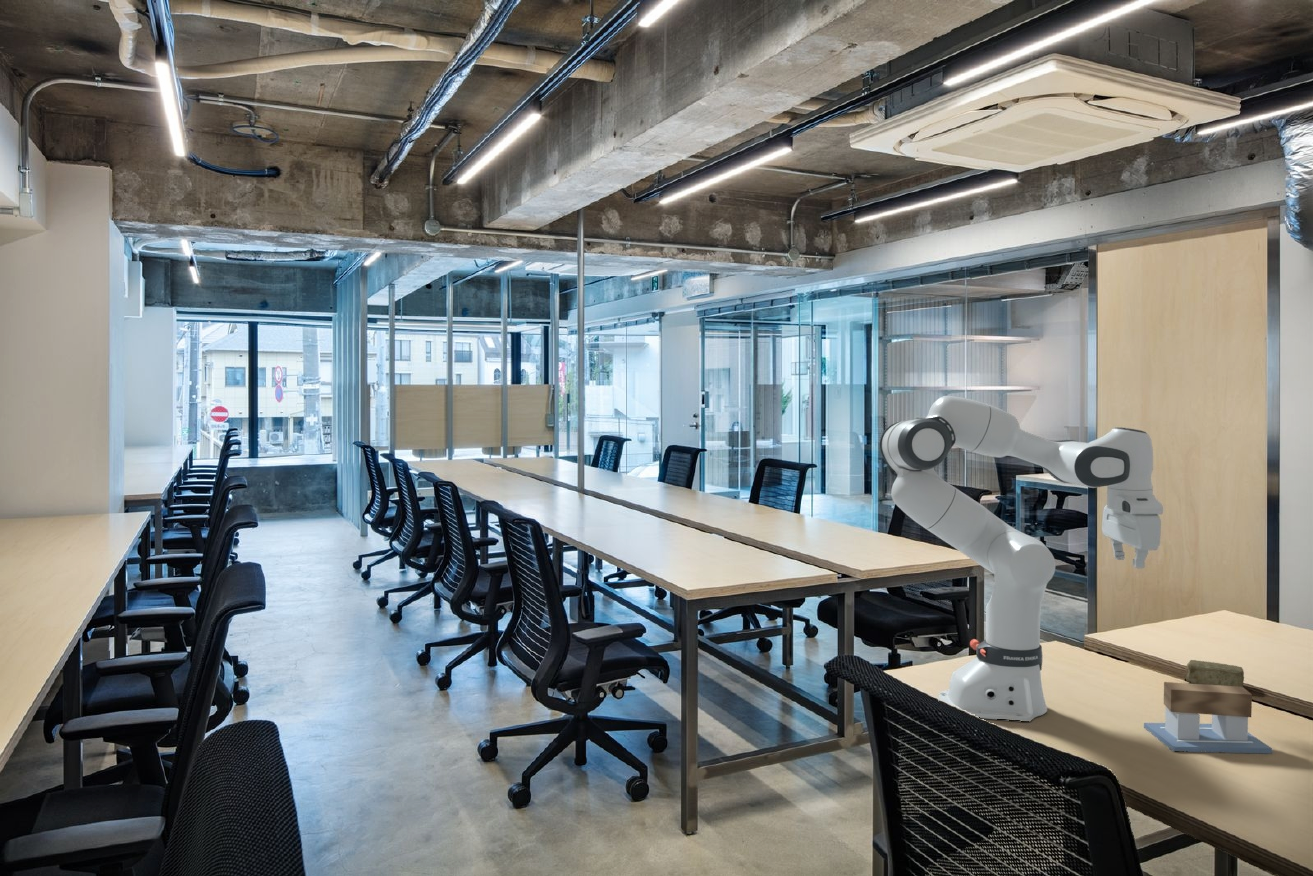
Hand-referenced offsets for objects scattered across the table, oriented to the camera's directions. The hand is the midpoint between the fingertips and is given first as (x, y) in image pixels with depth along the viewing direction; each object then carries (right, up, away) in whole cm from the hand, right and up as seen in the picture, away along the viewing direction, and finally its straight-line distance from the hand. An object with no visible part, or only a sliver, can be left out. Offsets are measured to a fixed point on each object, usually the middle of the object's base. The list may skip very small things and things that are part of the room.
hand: (1128, 563), depth 193 cm
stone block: (+27, -31, +12) cm, 42 cm away
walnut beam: (+5, -26, -20) cm, 33 cm away
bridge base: (+5, -32, -20) cm, 38 cm away
